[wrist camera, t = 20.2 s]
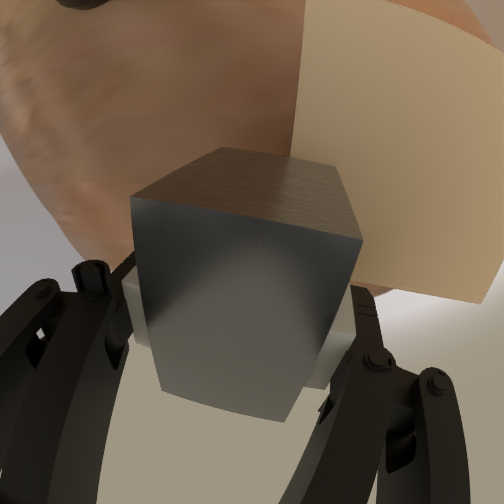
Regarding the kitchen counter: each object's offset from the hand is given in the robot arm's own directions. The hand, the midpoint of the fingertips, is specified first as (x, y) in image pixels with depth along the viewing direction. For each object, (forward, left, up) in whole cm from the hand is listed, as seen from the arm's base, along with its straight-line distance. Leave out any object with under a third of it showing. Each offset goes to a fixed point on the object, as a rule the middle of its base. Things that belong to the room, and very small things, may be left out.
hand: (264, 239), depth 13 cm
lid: (-5, +9, -4) cm, 11 cm away
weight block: (0, 0, 0) cm, 0 cm away
